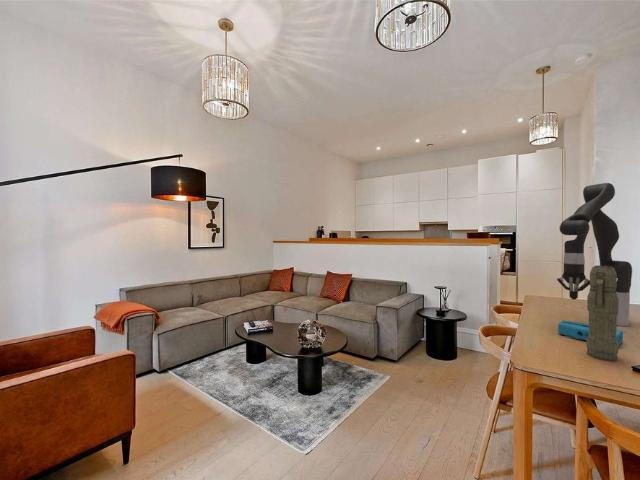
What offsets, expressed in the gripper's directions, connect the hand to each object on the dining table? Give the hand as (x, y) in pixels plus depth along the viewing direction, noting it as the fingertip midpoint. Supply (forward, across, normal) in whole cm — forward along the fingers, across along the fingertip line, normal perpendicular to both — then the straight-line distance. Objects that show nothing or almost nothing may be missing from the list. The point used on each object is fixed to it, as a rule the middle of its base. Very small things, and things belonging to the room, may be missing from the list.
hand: (573, 299), depth 140 cm
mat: (+17, -4, 0) cm, 17 cm away
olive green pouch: (+17, -5, +27) cm, 32 cm away
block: (+14, +5, +1) cm, 14 cm away
